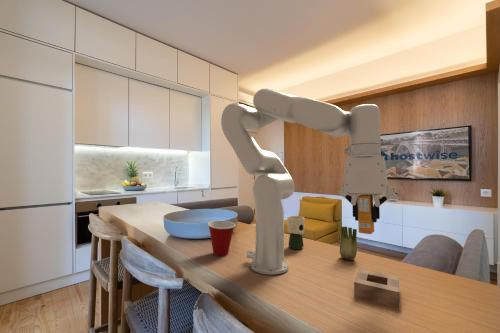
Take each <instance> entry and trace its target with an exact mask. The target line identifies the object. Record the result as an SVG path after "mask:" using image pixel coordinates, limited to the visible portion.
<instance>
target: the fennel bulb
mask: <svg viewBox="0 0 500 333" xmlns="http://www.w3.org/2000/svg"><path fill="white" fill-rule="evenodd" d="M357 230H358V229H357V228H353V227H348V226H340V242H339V254H340V257H341V258H343V259H344V260H347V261H353V260H356V257H357V253H358V252H357V251H358V242H357V232H358V231H357Z"/></svg>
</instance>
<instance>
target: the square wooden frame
mask: <svg viewBox="0 0 500 333" xmlns="http://www.w3.org/2000/svg"><path fill="white" fill-rule="evenodd" d="M353 296H354V297H355V298H358V299H364V300H368V301H371V302H375V303H379V304H382V305H387V306H391V307H395V308H398V309H400V276H397V275H392V274H391V275H390V274H387V273H382V272H376V271H372V270H366V269H361V268H358V271H357V274H356V276H355V278H354V281H353Z"/></svg>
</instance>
